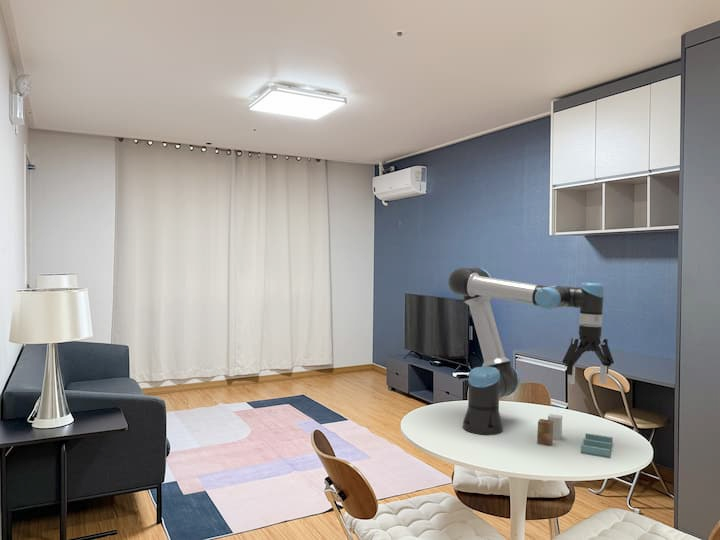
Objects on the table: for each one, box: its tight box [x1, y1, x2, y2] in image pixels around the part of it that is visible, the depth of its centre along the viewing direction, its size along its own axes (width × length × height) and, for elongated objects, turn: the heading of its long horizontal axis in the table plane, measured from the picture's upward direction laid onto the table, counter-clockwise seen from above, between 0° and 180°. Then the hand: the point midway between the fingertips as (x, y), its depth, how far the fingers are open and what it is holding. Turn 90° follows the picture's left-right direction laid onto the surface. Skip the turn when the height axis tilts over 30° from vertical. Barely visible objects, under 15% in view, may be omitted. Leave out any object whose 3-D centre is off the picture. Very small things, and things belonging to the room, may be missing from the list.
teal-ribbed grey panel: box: [580, 432, 614, 459], centre depth 193 cm, size 9×16×3 cm, turn 152°
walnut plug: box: [536, 418, 553, 447], centre depth 197 cm, size 4×4×8 cm
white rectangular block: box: [547, 413, 563, 441], centre depth 204 cm, size 4×4×8 cm
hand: (587, 383), depth 199 cm, fingers open, 13 cm apart
